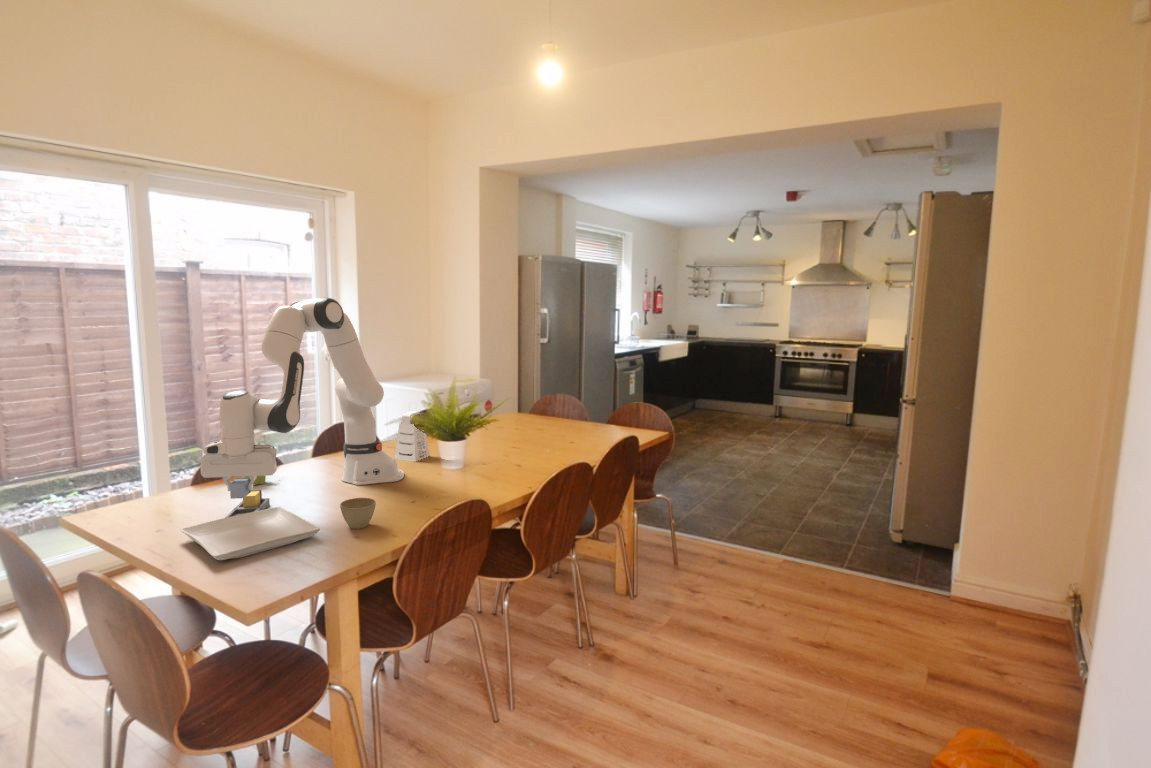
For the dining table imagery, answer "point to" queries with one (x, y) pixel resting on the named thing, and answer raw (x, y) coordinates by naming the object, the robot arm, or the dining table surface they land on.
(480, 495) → the dining table surface
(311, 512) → the dining table surface
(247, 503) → the yellow block
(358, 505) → the flower pot
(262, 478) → the plant pot
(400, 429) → the grater
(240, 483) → the plug slate
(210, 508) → the dining table surface
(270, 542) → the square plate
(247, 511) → the grey flat frame
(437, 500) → the dining table surface
